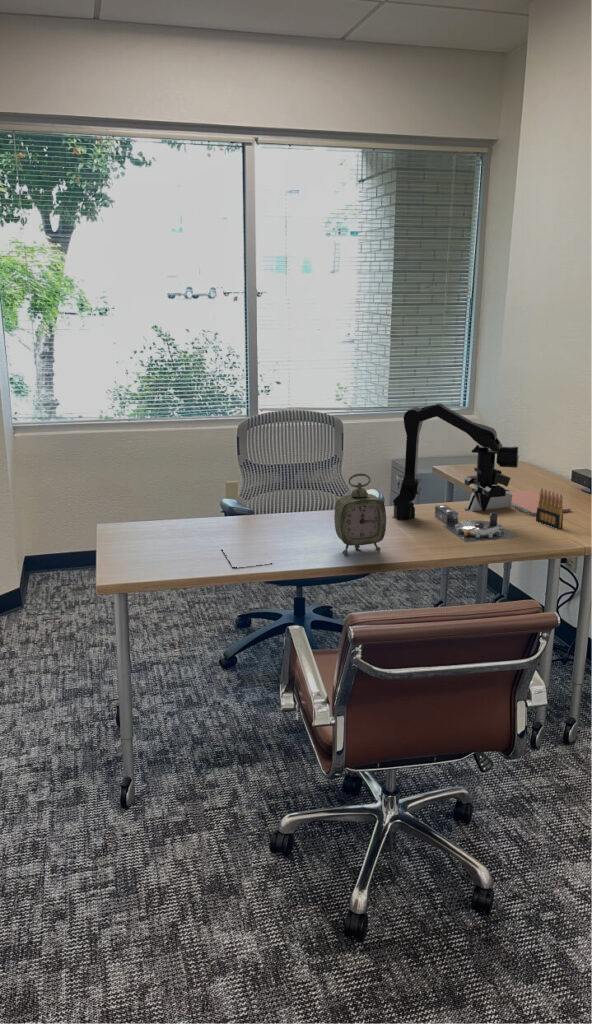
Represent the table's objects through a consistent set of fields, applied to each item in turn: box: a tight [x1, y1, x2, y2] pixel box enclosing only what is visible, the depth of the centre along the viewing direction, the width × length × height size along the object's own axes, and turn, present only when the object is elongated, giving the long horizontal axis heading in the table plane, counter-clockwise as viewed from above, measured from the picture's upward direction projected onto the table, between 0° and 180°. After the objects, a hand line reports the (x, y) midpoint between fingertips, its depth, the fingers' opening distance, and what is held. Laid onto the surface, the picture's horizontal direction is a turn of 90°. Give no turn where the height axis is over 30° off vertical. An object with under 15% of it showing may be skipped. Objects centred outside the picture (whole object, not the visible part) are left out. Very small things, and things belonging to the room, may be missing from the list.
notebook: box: [510, 489, 572, 516], centre depth 281 cm, size 27×17×2 cm, turn 16°
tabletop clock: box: [333, 473, 387, 556], centre depth 233 cm, size 14×9×25 cm, turn 103°
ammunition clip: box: [535, 488, 564, 530], centre depth 255 cm, size 11×2×12 cm, turn 26°
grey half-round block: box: [464, 487, 512, 512], centre depth 274 cm, size 17×5×10 cm, turn 107°
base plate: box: [442, 520, 518, 543], centre depth 249 cm, size 18×18×1 cm
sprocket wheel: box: [454, 511, 505, 538], centre depth 248 cm, size 16×16×6 cm
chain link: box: [434, 504, 459, 525], centre depth 262 cm, size 4×10×5 cm, turn 13°
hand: (483, 510), depth 255 cm, fingers closed
